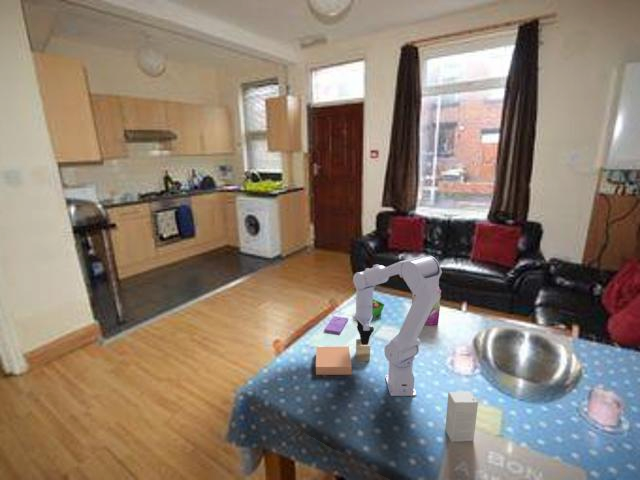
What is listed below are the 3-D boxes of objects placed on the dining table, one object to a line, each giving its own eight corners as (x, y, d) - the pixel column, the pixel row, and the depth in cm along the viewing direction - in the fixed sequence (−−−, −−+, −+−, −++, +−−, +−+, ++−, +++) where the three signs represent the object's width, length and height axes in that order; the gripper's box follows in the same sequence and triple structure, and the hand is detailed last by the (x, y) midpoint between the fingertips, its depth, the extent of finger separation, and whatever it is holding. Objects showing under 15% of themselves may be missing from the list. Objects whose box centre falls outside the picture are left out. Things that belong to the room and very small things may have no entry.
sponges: (348, 321, 148) (348, 317, 148) (340, 335, 137) (340, 331, 136) (333, 319, 151) (333, 315, 150) (324, 332, 139) (324, 328, 139)
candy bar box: (412, 325, 144) (414, 289, 140) (410, 319, 149) (412, 285, 144) (438, 326, 143) (442, 290, 139) (436, 320, 148) (439, 286, 143)
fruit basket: (366, 322, 147) (367, 298, 144) (353, 314, 154) (354, 291, 151) (384, 314, 153) (385, 292, 150) (371, 307, 160) (372, 286, 157)
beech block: (369, 360, 119) (370, 345, 118) (357, 360, 119) (357, 346, 118) (368, 353, 124) (368, 339, 122) (355, 353, 124) (356, 339, 122)
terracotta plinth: (351, 374, 112) (351, 366, 111) (315, 374, 112) (315, 366, 111) (348, 353, 124) (348, 346, 123) (316, 353, 124) (316, 346, 123)
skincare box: (466, 428, 90) (471, 390, 87) (473, 441, 86) (479, 402, 83) (444, 429, 90) (448, 391, 87) (450, 442, 85) (455, 403, 82)
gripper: (351, 295, 123) (350, 328, 127) (354, 313, 109) (354, 350, 113) (370, 295, 123) (368, 328, 127) (376, 313, 109) (374, 349, 113)
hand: (363, 338), depth 120 cm, fingers open, 7 cm apart
